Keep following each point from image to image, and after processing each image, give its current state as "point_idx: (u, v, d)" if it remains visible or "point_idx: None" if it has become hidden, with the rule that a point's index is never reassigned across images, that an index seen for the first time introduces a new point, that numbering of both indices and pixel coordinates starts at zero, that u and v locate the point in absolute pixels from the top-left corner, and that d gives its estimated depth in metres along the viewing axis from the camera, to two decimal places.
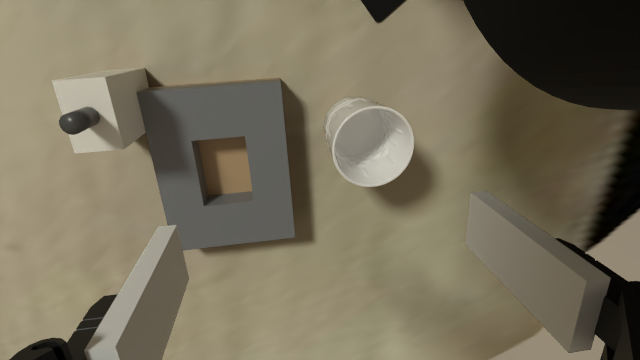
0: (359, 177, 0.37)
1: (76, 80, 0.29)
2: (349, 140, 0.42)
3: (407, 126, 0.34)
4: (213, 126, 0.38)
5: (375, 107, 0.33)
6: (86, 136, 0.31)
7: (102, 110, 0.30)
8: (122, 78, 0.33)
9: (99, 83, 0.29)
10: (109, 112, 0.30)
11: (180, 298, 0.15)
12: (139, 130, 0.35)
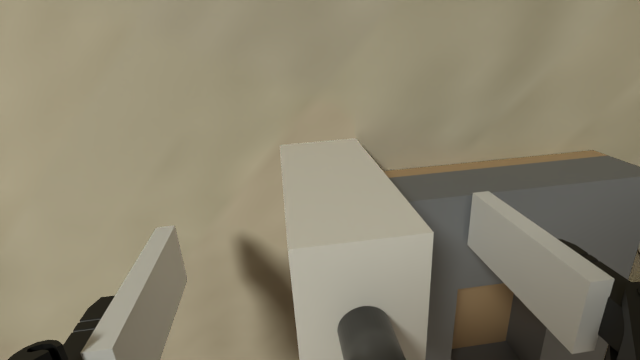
0: None
1: (355, 245, 0.10)
2: None
3: None
4: None
5: None
6: None
7: (400, 311, 0.11)
8: None
9: (414, 249, 0.10)
10: (416, 314, 0.11)
11: (178, 299, 0.15)
12: None
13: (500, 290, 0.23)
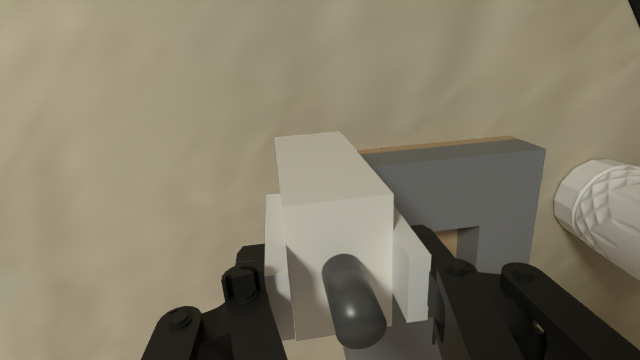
0: None
1: (333, 203, 0.13)
2: None
3: None
4: (440, 213, 0.25)
5: None
6: (326, 309, 0.14)
7: (370, 258, 0.14)
8: None
9: (379, 207, 0.13)
10: (383, 261, 0.14)
11: None
12: None
13: (445, 245, 0.30)
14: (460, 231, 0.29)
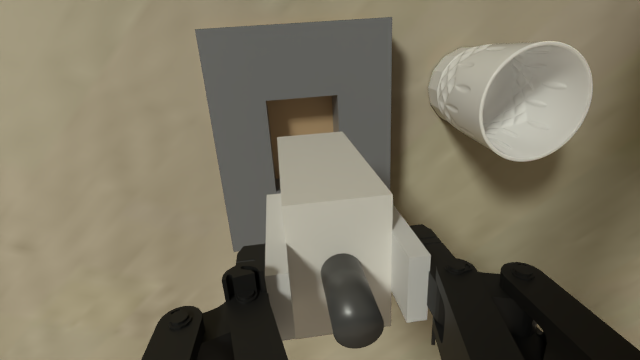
0: (501, 149, 0.27)
1: (333, 203, 0.13)
2: None
3: (586, 73, 0.24)
4: (297, 80, 0.27)
5: (549, 43, 0.23)
6: (326, 308, 0.15)
7: (369, 258, 0.14)
8: None
9: (378, 207, 0.13)
10: (382, 261, 0.14)
11: None
12: None
13: (322, 127, 0.32)
14: (333, 112, 0.31)
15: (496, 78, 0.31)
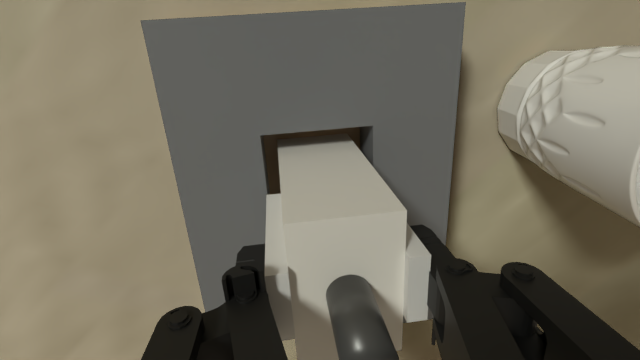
0: None
1: (340, 221, 0.12)
2: None
3: None
4: (311, 103, 0.17)
5: None
6: (331, 332, 0.13)
7: (380, 280, 0.13)
8: None
9: (391, 225, 0.12)
10: (394, 282, 0.13)
11: None
12: None
13: None
14: (361, 146, 0.21)
15: None
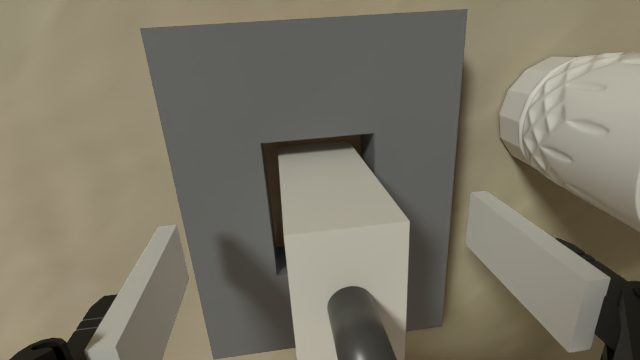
0: None
1: (342, 232, 0.11)
2: None
3: None
4: (311, 110, 0.17)
5: None
6: (332, 345, 0.13)
7: (382, 291, 0.12)
8: None
9: (393, 236, 0.12)
10: (397, 294, 0.13)
11: (180, 298, 0.15)
12: None
13: None
14: (362, 153, 0.21)
15: None
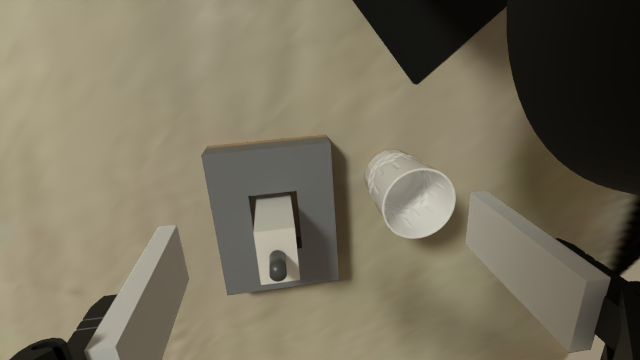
0: (404, 228, 0.40)
1: (272, 231, 0.35)
2: None
3: (449, 184, 0.38)
4: (269, 182, 0.41)
5: (421, 169, 0.36)
6: None
7: (288, 252, 0.36)
8: None
9: (289, 232, 0.36)
10: (293, 253, 0.36)
11: (180, 298, 0.15)
12: None
13: None
14: (296, 197, 0.45)
15: None
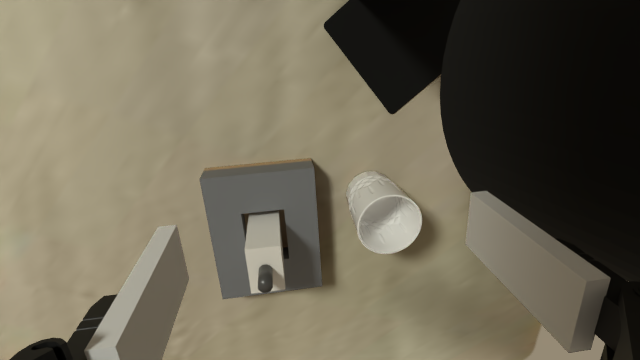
0: (377, 244, 0.46)
1: (261, 248, 0.41)
2: None
3: (416, 208, 0.43)
4: (259, 202, 0.46)
5: (391, 195, 0.42)
6: None
7: (274, 266, 0.42)
8: None
9: (276, 249, 0.41)
10: (279, 266, 0.42)
11: (180, 298, 0.15)
12: (283, 263, 0.47)
13: None
14: (284, 213, 0.50)
15: None
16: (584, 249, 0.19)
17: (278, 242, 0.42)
